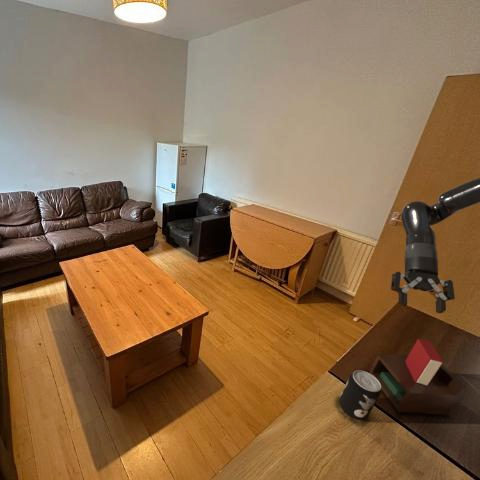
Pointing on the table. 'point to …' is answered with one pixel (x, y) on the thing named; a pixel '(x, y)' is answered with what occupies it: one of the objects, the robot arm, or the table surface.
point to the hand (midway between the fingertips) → (421, 309)
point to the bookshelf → (415, 386)
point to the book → (423, 362)
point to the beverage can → (360, 395)
